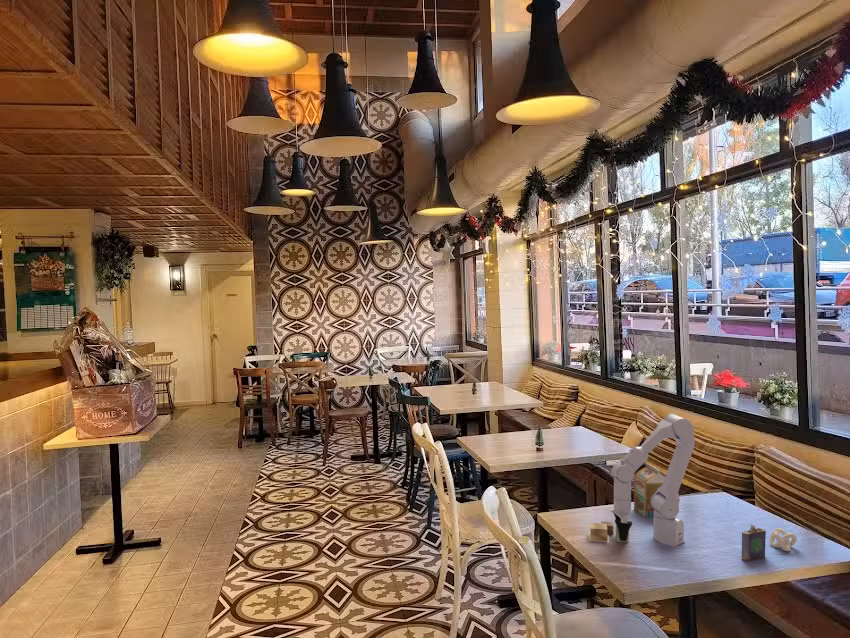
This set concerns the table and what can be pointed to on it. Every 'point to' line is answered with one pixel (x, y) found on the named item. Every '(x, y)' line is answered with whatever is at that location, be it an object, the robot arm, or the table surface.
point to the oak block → (598, 531)
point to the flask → (753, 544)
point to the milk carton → (646, 489)
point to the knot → (782, 539)
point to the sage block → (618, 536)
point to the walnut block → (608, 527)
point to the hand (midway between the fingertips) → (622, 536)
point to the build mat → (598, 540)
